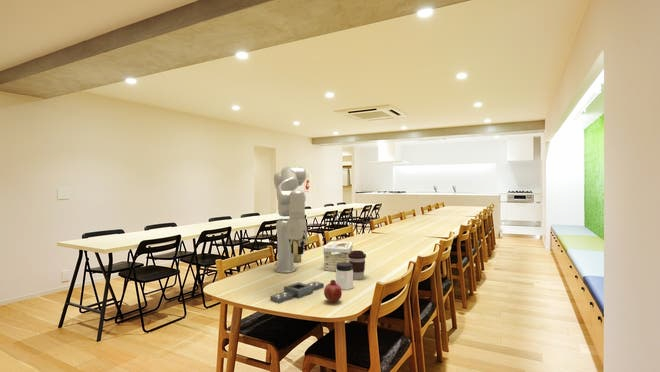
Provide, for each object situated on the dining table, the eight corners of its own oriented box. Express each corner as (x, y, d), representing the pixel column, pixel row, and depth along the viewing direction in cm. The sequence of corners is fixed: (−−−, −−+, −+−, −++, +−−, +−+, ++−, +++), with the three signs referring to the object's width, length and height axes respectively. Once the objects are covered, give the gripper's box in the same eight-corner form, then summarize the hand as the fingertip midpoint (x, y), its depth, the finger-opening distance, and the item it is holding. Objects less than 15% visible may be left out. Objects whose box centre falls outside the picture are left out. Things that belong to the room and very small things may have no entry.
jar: (333, 289, 172) (333, 265, 172) (338, 284, 180) (338, 261, 180) (350, 290, 169) (351, 266, 169) (354, 285, 177) (354, 262, 177)
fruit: (333, 297, 159) (333, 276, 159) (345, 302, 153) (345, 280, 153) (320, 301, 154) (320, 279, 154) (332, 306, 148) (332, 283, 148)
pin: (291, 262, 166) (291, 237, 166) (297, 260, 169) (297, 236, 169) (297, 263, 164) (297, 238, 164) (303, 262, 167) (302, 237, 167)
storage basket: (329, 262, 230) (329, 240, 230) (353, 263, 227) (353, 241, 227) (322, 271, 206) (322, 247, 206) (349, 272, 203) (349, 248, 203)
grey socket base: (267, 299, 157) (267, 292, 157) (312, 284, 180) (312, 278, 180) (282, 304, 150) (282, 296, 150) (326, 288, 173) (326, 281, 173)
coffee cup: (345, 279, 189) (345, 252, 189) (352, 274, 198) (352, 249, 198) (361, 281, 185) (361, 254, 185) (368, 277, 194) (368, 250, 193)
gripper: (279, 215, 169) (280, 252, 169) (303, 217, 158) (304, 257, 158) (291, 215, 175) (291, 250, 175) (314, 216, 164) (315, 254, 164)
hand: (297, 253), depth 167 cm, fingers closed on pin, 4 cm apart
